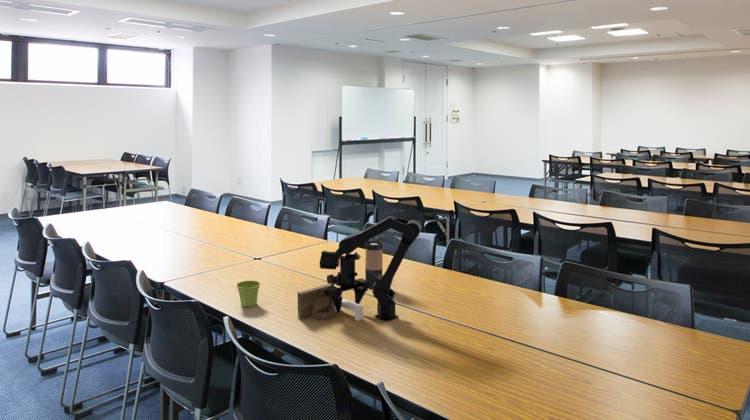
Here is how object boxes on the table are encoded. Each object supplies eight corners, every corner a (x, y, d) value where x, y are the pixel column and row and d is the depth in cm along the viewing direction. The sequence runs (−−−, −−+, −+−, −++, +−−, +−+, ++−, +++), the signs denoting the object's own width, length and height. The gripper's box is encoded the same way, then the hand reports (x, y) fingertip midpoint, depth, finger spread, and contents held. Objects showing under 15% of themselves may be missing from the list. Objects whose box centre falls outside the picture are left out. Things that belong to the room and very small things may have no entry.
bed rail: (362, 318, 194) (363, 305, 194) (357, 320, 192) (357, 307, 192) (338, 308, 204) (338, 296, 204) (333, 310, 202) (332, 298, 202)
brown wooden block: (345, 313, 200) (345, 288, 198) (311, 324, 189) (311, 298, 187) (331, 307, 206) (330, 283, 204) (297, 317, 195) (297, 292, 193)
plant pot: (264, 306, 207) (264, 285, 206) (241, 310, 202) (240, 289, 200) (255, 299, 215) (255, 279, 213) (233, 303, 209) (232, 282, 208)
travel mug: (385, 285, 234) (385, 242, 230) (376, 290, 227) (376, 245, 224) (371, 283, 238) (371, 240, 234) (361, 287, 231) (362, 243, 228)
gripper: (352, 261, 208) (352, 298, 210) (314, 270, 195) (315, 309, 197) (371, 267, 200) (371, 305, 202) (333, 276, 187) (333, 317, 190)
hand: (347, 309), depth 198 cm, fingers open, 9 cm apart
